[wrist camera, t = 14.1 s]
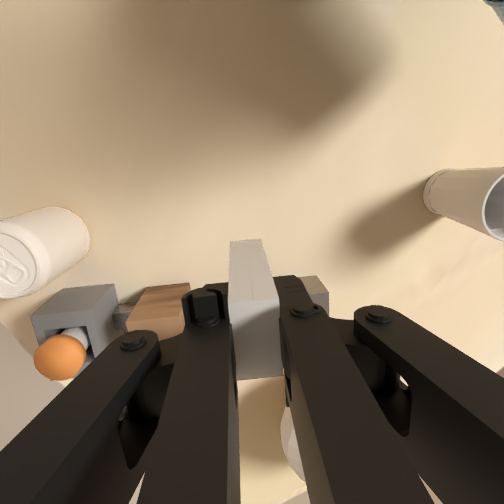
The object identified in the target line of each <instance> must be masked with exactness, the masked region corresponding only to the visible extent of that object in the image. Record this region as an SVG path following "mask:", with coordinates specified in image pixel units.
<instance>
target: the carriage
mask: <svg viewBox="0 0 504 504" xmlns="http://www.w3.org/2000/svg"><path fill="white" fill-rule="evenodd" d="M189 291H190V284H189V283H182V284H173V285H163V286H154V287H147V288H146V289H145V291H144V293H143V294H142V296H141V297H140V299H139V301H138V302H137V304H136V306H135V307H134V309H133V311H132V312H131V314H130V315H129V317H128V319H127V320H126V326H127V331H128V332H130V331H134V330H151V331H153V332H155V333H157V336H158V340H159V341H160V340H164V339H167V338H171V337H174V336H176V335H179V334H180V333H182V332H183V330H184V326H185V321H184V314H183V308H182V302H181V298H182V297H183V295H184V294H186V293H188V292H189Z"/></svg>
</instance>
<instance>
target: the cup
mask: <svg viewBox="0 0 504 504" xmlns="http://www.w3.org/2000/svg"><path fill="white" fill-rule="evenodd" d="M423 200H424V203H425V205H426V207H427V208H428V209H429V210H430V211H431V212H433V213H435V214H439V215H442V216H444V217H447V218H449V219H452V220H454V221H456V222H459V223H461V224H464V225H466V226H468V227H471V228H473V229H475V230H477V231H479V232H482V233H484V234H486V235H488V236H491V237H493V238H495V239H497V240H500V241H504V167H494V168H472V169H444V170H441V171H438V172H437V173H435V174H434V175H433V176H432V177H431V178H430V179H429V180H428V182H427V183H426V185H425V188H424V192H423Z"/></svg>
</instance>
